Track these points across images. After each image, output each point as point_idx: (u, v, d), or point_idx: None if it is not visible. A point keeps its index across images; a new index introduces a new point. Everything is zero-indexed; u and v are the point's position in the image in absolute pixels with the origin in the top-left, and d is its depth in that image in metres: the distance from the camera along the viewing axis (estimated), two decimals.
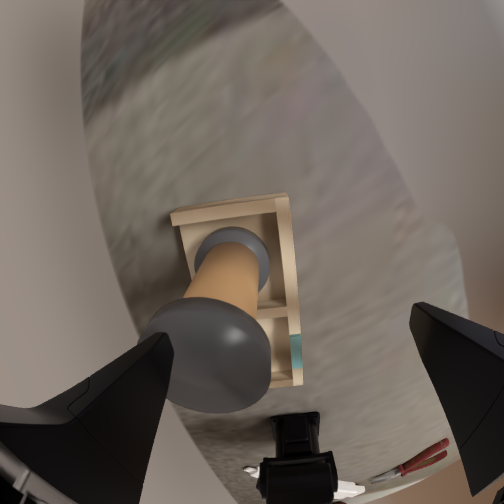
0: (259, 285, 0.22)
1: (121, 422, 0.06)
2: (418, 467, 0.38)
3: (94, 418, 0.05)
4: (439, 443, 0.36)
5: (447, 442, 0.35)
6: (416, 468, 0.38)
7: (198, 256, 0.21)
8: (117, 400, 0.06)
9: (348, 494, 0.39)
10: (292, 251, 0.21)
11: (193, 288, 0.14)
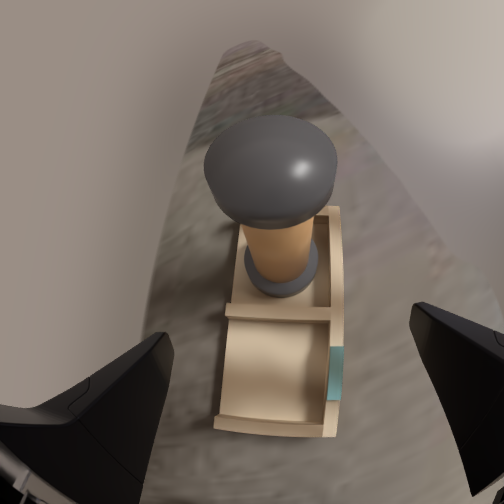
0: (305, 278, 0.21)
1: (121, 422, 0.06)
2: None
3: (94, 418, 0.05)
4: None
5: None
6: None
7: None
8: (117, 400, 0.06)
9: None
10: (340, 249, 0.22)
11: None
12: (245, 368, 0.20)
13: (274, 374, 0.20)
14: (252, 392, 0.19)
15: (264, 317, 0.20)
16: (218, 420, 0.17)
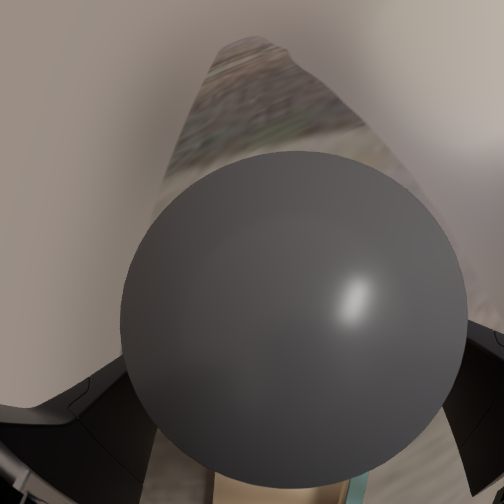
0: None
1: (121, 422, 0.06)
2: None
3: (94, 418, 0.05)
4: None
5: None
6: None
7: None
8: (117, 400, 0.06)
9: None
10: None
11: None
12: None
13: (277, 489, 0.12)
14: None
15: None
16: None
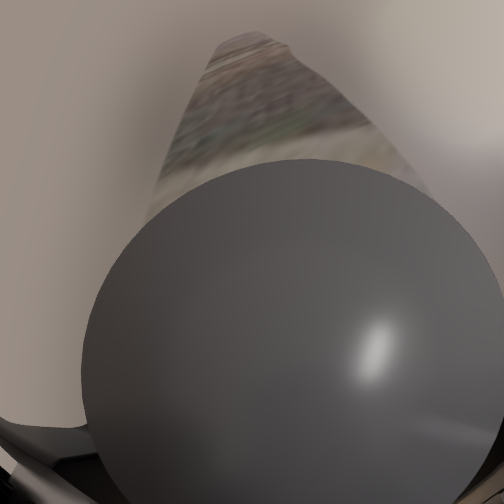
0: None
1: None
2: None
3: None
4: None
5: None
6: None
7: None
8: None
9: None
10: None
11: None
12: None
13: None
14: None
15: None
16: None
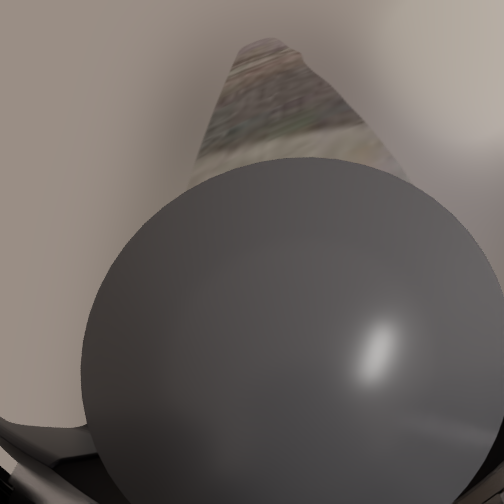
0: None
1: None
2: None
3: None
4: None
5: None
6: None
7: None
8: None
9: None
10: None
11: None
12: None
13: None
14: None
15: None
16: None
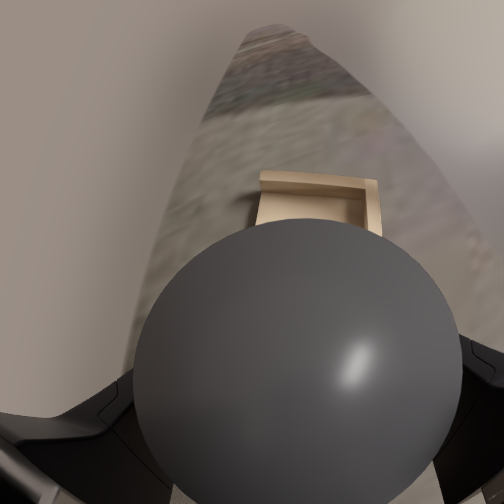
0: None
1: None
2: None
3: (127, 425, 0.05)
4: None
5: None
6: None
7: None
8: None
9: None
10: (379, 227, 0.17)
11: None
12: None
13: None
14: None
15: None
16: None
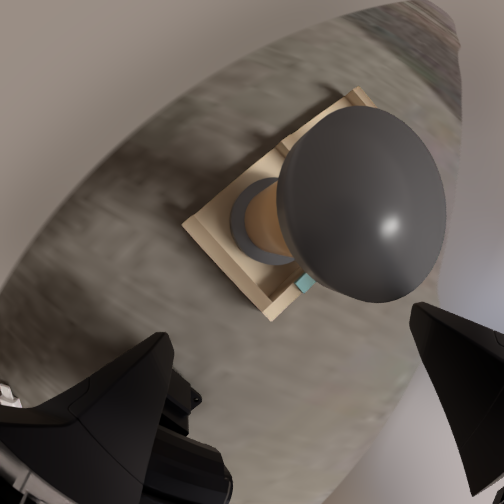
0: (279, 259, 0.19)
1: (121, 422, 0.06)
2: None
3: (94, 418, 0.05)
4: None
5: None
6: None
7: (264, 182, 0.18)
8: (117, 400, 0.06)
9: None
10: None
11: None
12: None
13: None
14: None
15: None
16: (192, 221, 0.17)
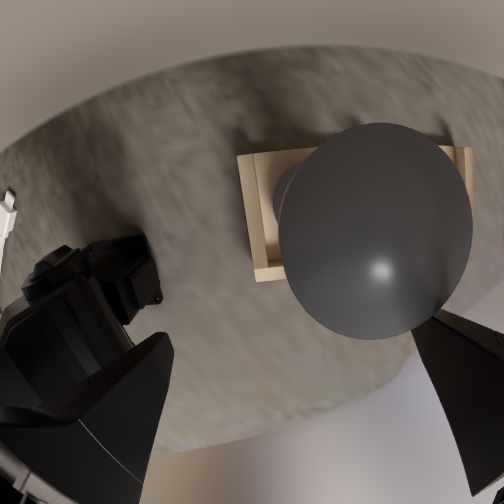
0: None
1: (121, 422, 0.06)
2: None
3: (94, 418, 0.05)
4: None
5: None
6: None
7: None
8: (117, 400, 0.06)
9: None
10: None
11: None
12: None
13: None
14: None
15: None
16: (248, 159, 0.17)
